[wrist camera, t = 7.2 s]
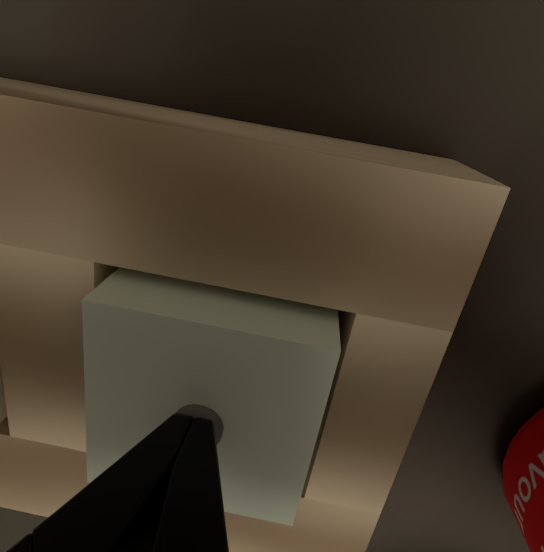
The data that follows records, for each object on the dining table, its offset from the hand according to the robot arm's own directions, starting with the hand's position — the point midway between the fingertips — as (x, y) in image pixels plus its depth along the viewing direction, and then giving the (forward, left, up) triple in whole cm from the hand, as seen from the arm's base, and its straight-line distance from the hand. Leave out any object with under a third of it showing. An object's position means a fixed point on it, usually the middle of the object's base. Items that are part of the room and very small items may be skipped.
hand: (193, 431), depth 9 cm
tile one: (0, 0, -4) cm, 4 cm away
